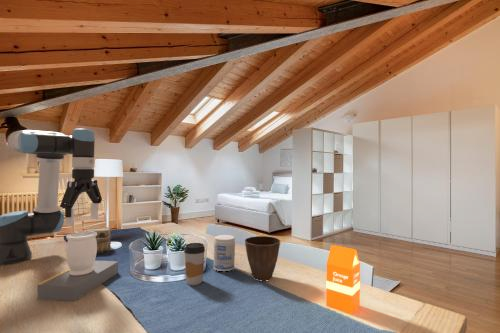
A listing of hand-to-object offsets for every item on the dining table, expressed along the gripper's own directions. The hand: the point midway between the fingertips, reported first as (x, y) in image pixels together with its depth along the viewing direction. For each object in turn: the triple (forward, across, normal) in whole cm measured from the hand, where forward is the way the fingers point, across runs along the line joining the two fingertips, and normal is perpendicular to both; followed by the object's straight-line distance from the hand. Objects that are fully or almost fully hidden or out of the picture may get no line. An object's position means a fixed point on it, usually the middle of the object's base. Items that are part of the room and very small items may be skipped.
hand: (82, 222), depth 111 cm
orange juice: (+25, -4, -99) cm, 102 cm away
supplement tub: (+25, +24, -52) cm, 62 cm away
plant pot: (+25, +16, -70) cm, 76 cm away
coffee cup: (+25, +8, -43) cm, 50 cm away
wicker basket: (+25, +42, +24) cm, 54 cm away
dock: (+24, 0, 0) cm, 25 cm away
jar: (+20, 0, 0) cm, 20 cm away
